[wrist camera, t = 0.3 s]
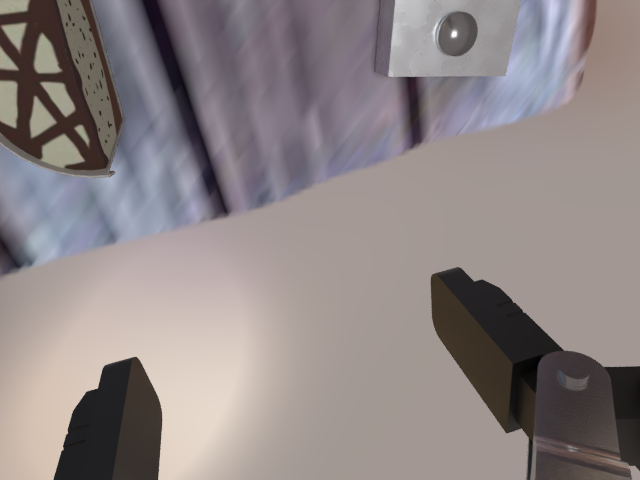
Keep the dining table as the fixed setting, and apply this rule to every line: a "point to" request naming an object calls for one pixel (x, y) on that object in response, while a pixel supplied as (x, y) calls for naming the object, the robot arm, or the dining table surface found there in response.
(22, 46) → the food container
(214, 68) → the dining table surface
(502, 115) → the dining table surface
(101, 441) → the robot arm
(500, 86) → the dining table surface
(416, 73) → the studded base plate
